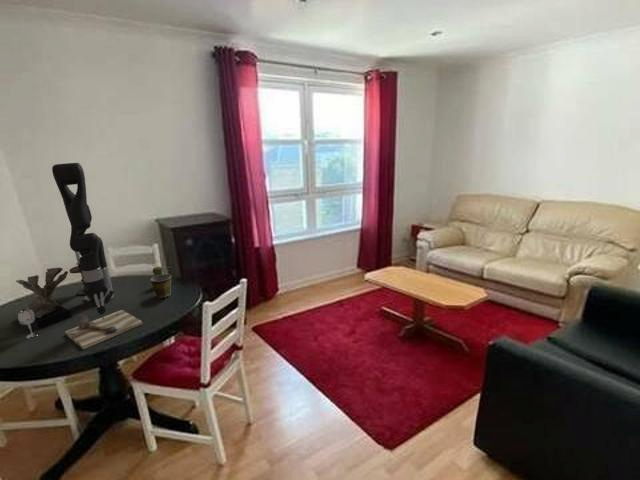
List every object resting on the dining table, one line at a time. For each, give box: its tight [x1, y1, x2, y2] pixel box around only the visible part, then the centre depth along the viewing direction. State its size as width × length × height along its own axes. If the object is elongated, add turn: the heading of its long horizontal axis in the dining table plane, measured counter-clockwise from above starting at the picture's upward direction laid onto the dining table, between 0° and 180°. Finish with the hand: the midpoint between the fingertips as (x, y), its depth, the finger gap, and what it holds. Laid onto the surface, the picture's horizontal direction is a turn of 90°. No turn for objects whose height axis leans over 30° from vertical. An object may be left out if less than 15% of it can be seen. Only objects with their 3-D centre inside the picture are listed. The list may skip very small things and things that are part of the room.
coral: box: [15, 267, 73, 330], centre depth 175 cm, size 25×20×21 cm
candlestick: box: [68, 251, 86, 297], centre depth 197 cm, size 11×11×35 cm
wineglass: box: [17, 307, 40, 339], centre depth 157 cm, size 6×6×12 cm
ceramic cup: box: [150, 273, 172, 299], centre depth 192 cm, size 13×10×10 cm
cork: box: [152, 266, 164, 277], centre depth 204 cm, size 6×6×11 cm
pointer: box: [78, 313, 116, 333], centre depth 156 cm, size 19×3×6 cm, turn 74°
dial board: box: [64, 309, 143, 350], centre depth 160 cm, size 20×24×2 cm
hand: (102, 313), depth 164 cm, fingers closed
